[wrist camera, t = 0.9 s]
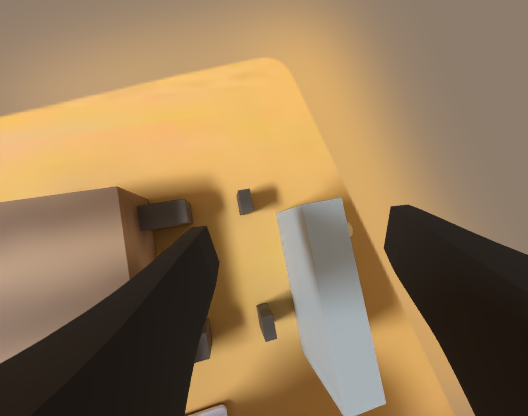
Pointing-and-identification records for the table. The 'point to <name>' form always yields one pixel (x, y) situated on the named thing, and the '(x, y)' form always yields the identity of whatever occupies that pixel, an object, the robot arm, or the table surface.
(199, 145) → the table surface
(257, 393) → the table surface
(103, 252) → the cabinet
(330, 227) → the door panel
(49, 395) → the robot arm
